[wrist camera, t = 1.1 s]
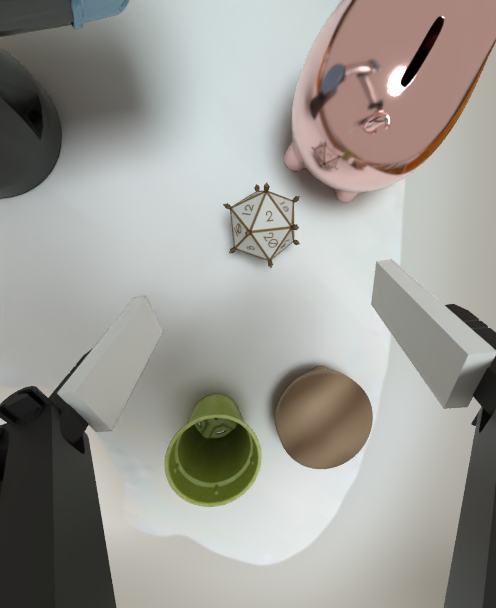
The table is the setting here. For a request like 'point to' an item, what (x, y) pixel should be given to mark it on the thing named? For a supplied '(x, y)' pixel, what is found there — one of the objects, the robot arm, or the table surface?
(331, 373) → the stand
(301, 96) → the piggy bank
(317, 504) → the table surface
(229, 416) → the plant pot
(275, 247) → the game die
